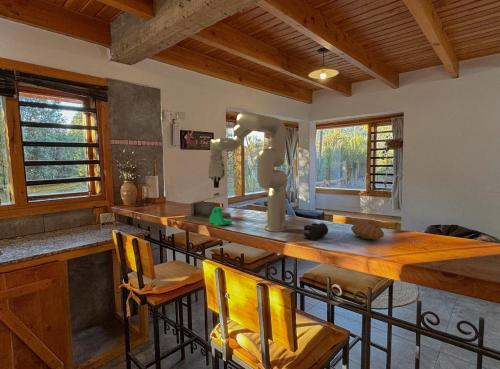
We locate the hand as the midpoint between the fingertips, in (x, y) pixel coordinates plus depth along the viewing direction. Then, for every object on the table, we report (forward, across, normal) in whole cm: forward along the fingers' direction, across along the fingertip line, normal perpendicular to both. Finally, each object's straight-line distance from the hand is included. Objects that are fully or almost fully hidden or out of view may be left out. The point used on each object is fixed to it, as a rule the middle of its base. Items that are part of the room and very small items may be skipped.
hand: (216, 187), depth 179 cm
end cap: (+19, -69, +23) cm, 75 cm away
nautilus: (+19, -91, +12) cm, 94 cm away
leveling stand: (+20, +6, 0) cm, 21 cm away
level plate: (+8, +6, 0) cm, 10 cm away
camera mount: (+20, -12, +14) cm, 27 cm away
